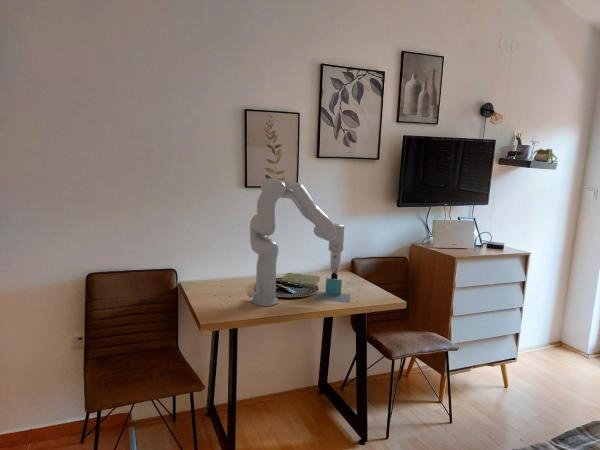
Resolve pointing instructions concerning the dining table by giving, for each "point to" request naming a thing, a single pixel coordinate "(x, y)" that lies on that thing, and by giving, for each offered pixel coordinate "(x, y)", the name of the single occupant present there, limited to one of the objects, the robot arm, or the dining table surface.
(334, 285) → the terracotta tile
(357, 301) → the dining table surface
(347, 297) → the rubber mat
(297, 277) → the decorative tile
